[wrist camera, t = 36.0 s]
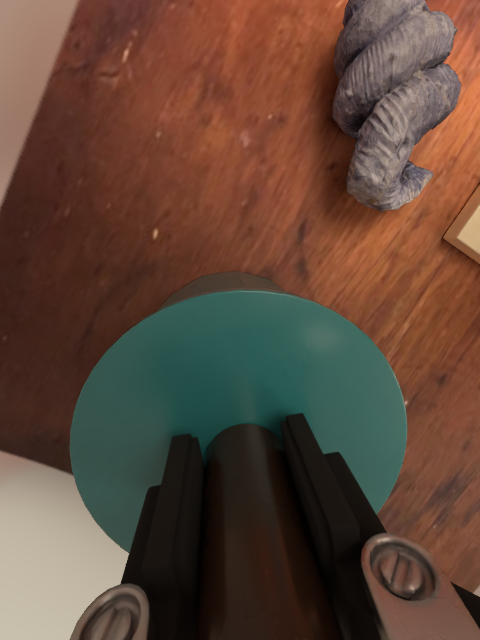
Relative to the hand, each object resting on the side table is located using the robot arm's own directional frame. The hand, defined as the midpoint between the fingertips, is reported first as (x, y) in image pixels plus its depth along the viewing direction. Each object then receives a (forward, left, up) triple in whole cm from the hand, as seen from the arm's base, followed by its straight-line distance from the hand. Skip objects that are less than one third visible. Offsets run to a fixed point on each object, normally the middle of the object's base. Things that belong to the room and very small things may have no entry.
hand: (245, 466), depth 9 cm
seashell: (-12, +9, -10) cm, 18 cm away
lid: (0, 0, -1) cm, 1 cm away
